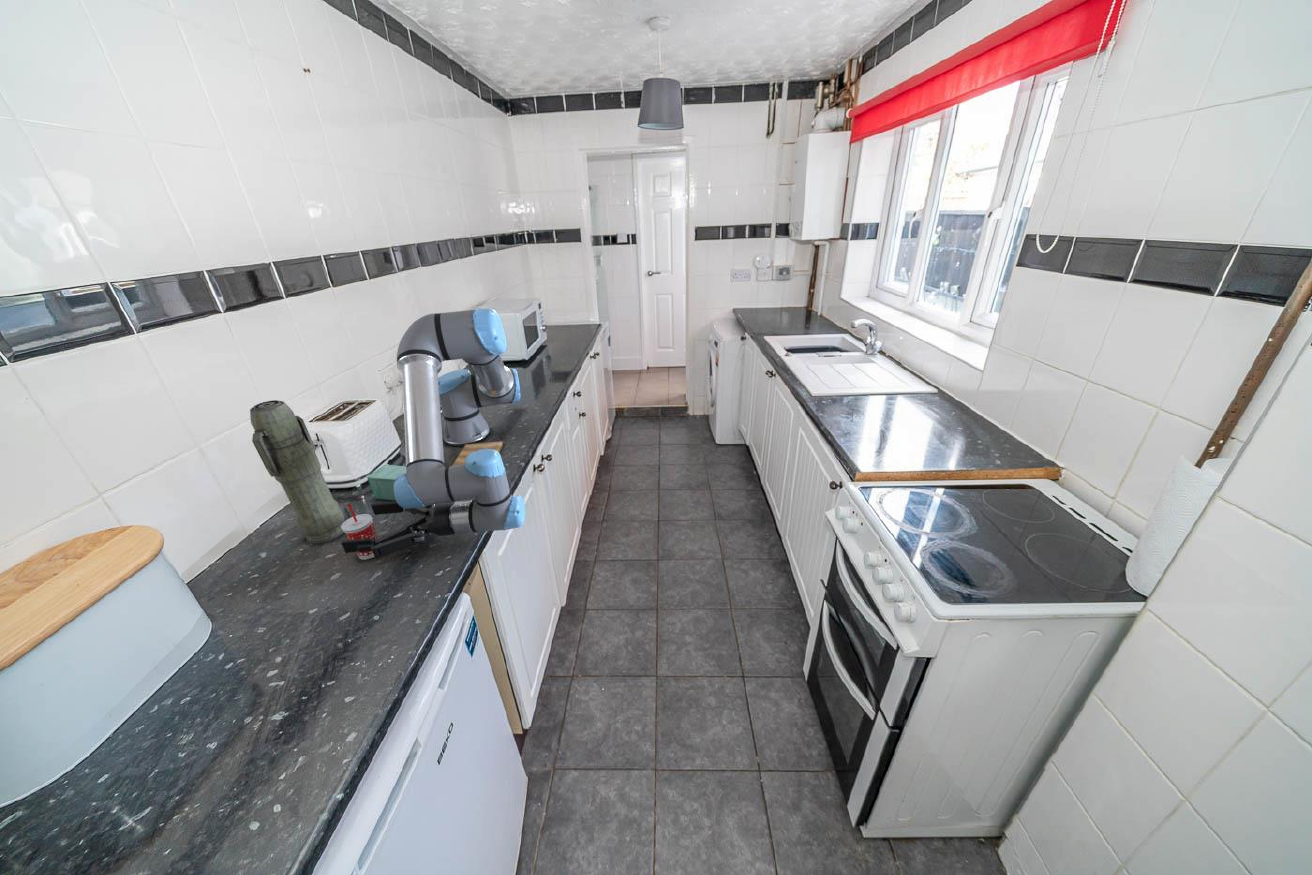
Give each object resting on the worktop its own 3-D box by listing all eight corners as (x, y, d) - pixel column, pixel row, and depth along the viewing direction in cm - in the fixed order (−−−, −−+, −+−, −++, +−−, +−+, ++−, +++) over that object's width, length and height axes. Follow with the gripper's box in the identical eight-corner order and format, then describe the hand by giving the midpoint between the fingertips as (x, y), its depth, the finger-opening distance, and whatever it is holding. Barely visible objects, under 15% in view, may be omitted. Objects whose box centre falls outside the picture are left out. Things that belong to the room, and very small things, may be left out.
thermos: (358, 516, 120) (305, 393, 104) (330, 546, 109) (267, 413, 93) (324, 518, 120) (266, 395, 104) (294, 548, 109) (224, 416, 93)
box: (417, 503, 124) (409, 479, 121) (374, 500, 127) (365, 477, 123) (433, 488, 130) (426, 466, 127) (392, 485, 133) (384, 463, 130)
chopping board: (466, 448, 152) (465, 444, 151) (502, 445, 153) (501, 441, 152) (449, 476, 136) (448, 472, 135) (490, 472, 137) (488, 468, 136)
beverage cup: (363, 545, 109) (341, 497, 102) (389, 543, 109) (369, 494, 103) (349, 563, 103) (326, 513, 97) (377, 560, 104) (355, 510, 97)
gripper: (441, 568, 95) (336, 579, 93) (473, 500, 117) (388, 508, 116) (431, 540, 91) (322, 551, 90) (466, 475, 113) (379, 483, 112)
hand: (359, 527), depth 103 cm, fingers open, 13 cm apart
